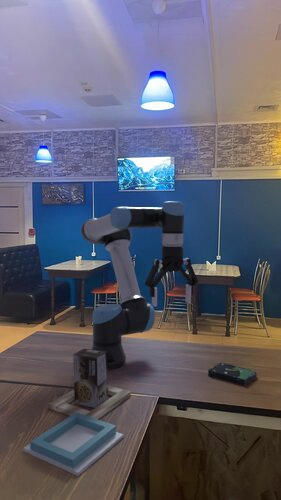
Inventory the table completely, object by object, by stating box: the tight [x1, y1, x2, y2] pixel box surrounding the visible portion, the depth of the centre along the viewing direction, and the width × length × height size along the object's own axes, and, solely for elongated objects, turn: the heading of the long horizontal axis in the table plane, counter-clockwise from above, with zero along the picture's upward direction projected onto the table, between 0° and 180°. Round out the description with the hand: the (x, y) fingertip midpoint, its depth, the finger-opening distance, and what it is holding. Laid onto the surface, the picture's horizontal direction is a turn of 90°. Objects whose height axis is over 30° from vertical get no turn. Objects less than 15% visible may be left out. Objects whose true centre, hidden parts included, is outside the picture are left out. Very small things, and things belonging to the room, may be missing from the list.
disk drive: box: [207, 362, 258, 387], centre depth 138 cm, size 10×3×15 cm
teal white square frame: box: [22, 412, 124, 477], centre depth 96 cm, size 18×18×3 cm
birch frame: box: [48, 385, 132, 420], centre depth 119 cm, size 17×20×2 cm
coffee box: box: [72, 348, 109, 409], centre depth 118 cm, size 9×6×16 cm
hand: (171, 304), depth 134 cm, fingers open, 13 cm apart
